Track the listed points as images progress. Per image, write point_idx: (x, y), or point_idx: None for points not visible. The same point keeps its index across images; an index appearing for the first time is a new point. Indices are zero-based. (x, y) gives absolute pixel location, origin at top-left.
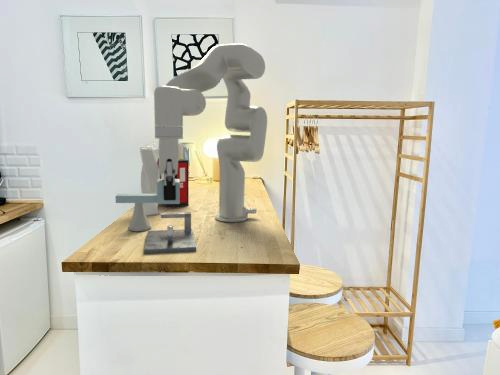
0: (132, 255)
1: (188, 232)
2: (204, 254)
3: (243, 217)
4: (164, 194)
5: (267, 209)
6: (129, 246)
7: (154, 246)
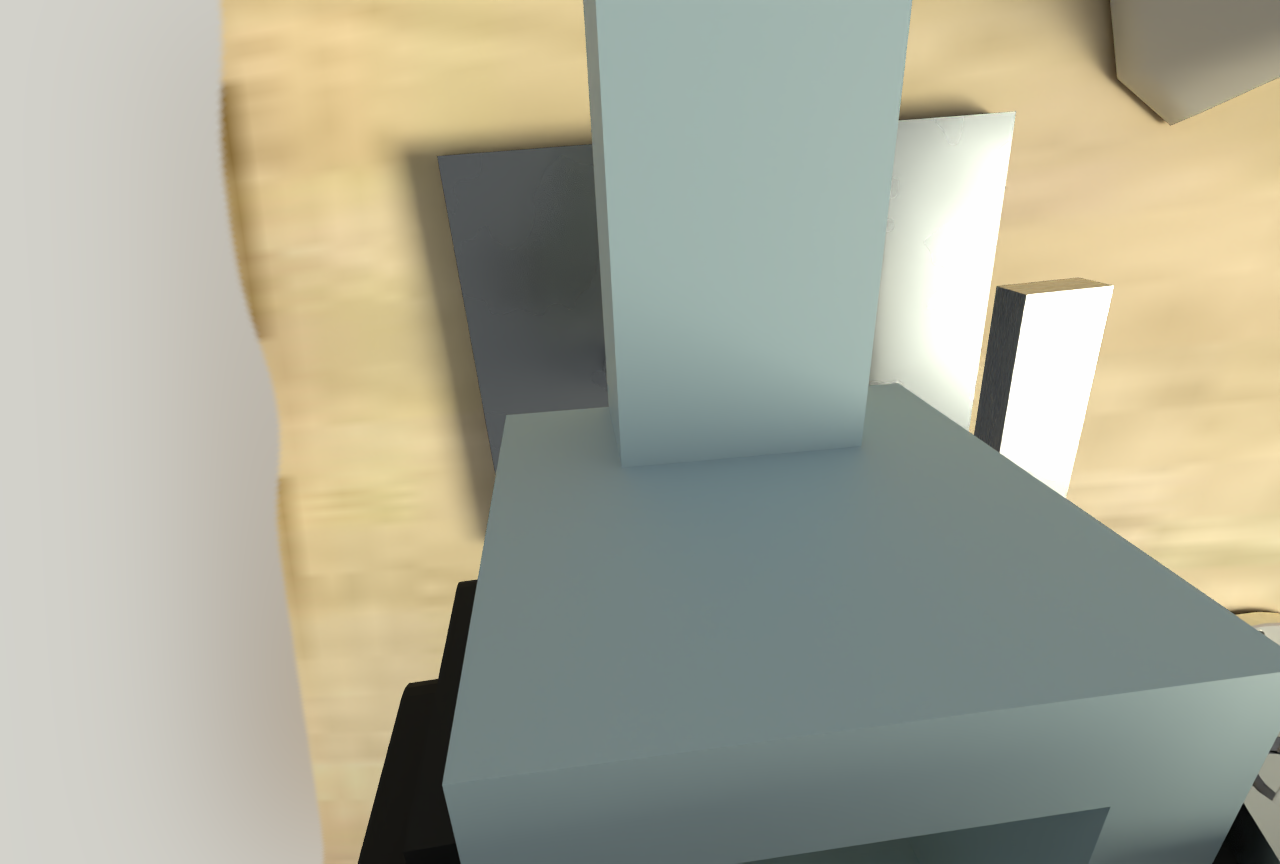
0: (398, 46)
1: None
2: (447, 591)
3: None
4: (447, 666)
5: None
6: None
7: (527, 243)
